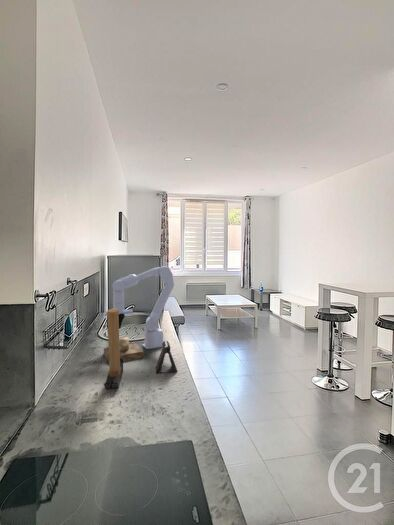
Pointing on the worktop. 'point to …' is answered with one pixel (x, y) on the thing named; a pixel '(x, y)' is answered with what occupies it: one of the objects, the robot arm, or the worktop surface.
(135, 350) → the board
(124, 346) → the peg
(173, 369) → the dark a-frame stand
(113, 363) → the hammer
